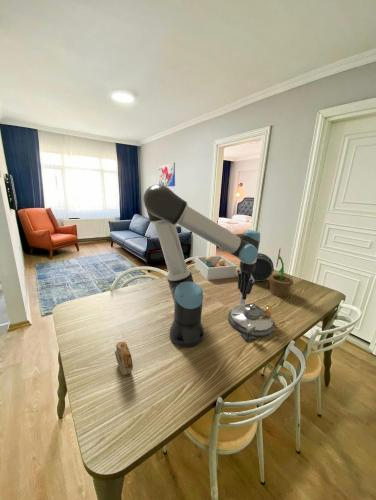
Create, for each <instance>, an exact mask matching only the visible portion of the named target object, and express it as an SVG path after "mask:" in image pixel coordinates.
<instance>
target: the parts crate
mask: <svg viewBox="0 0 376 500" xmlns="http://www.w3.org/2000/svg"><path fill="white" fill-rule="evenodd" d="M206 257H210V258H211V263H212V266H214V267H210V268H209V267H207V266H206V265H205V264H204V262H205V258H206ZM221 259H223V260H224V261H225V264H226V266H223V267H216V265H217V264H218V263H219V260H221ZM194 269H195V270H196V271H198V270H199V271H200V272H199V271H198V272H199V274H200V275H202V276H203V278H205V279H206V280H207V281H209V280H220V279H221V280H222V279H230V278H236V271H237V265H236V264H235V263H233V262H232V261H230V260H228V259H227V258H226V257H224V256H222V255H210V256H209V255H207V256H196V257H195V260H194Z"/></svg>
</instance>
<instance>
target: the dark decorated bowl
mask: <svg viewBox="0 0 376 500" xmlns="http://www.w3.org/2000/svg"><path fill="white" fill-rule="evenodd" d="M274 266H275V265H274V262H273V260H272V258H271V257H269V256H268V255H266V254H265V253H262V252H261V253H260V252H258V255H257V260H256V267H255V270H254V271H253V278H254V279H256V281H255V282H262V281H263V282H264V281H266V280H267V279H268V280H269V276H270V275H273V273H274V271H275V269H274Z"/></svg>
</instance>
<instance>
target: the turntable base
mask: <svg viewBox="0 0 376 500" xmlns="http://www.w3.org/2000/svg"><path fill="white" fill-rule="evenodd" d="M227 318H228V323H229V325H230V326H231V327H232V328H233V329H234V330H235V331H237V332H238V333H240V334H242V333H246V334H247V330H246V329H244V328H242V327H240V326H238V325H237V324H236V323H235V322H234V321H233V320H232V318H231V310H229V312H228V317H227ZM275 325H276V324H275V321H274V320H273V325H272V327H271V328H270V329H269V330H267V331H263V332H255V331H253V332H252V333H250V335H254V336H255V337H256V339H257V338H261V339H262V338H266V337H269V336H271V335H272V334H273V333H274V332H275Z"/></svg>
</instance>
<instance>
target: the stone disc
mask: <svg viewBox="0 0 376 500" xmlns="http://www.w3.org/2000/svg"><path fill="white" fill-rule="evenodd" d="M115 346H116V347H115V348H116V350H115V351H114V355H115V359H116V363H117V365H118V367H119V370H120V372H121V374H122V375H123V376H125V375H128V374H130V373H132V371H133V369H134V368H133V359H132V358H133V357H132V355H131V352H130V348H129V346H128V343H127V341H119V342H117V343H116V345H115Z"/></svg>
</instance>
